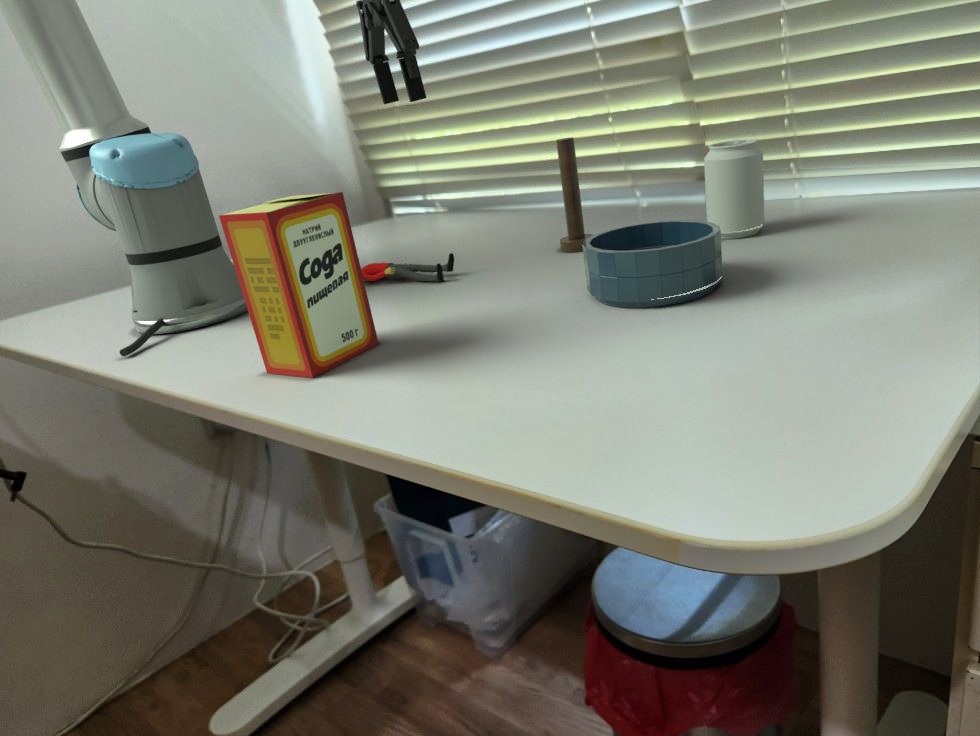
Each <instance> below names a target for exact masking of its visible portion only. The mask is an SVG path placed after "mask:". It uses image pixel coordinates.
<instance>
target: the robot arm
mask: <svg viewBox="0 0 980 736" xmlns="http://www.w3.org/2000/svg"><path fill="white" fill-rule="evenodd" d="M355 3H356V8H357V12H358V16H359V24H360V29H361V36H362V42H363V49H364V55H365V56H364V57H365V60H366V62H369V63H370V64H371V65H372V69H373V71H374V75H375V79H376V82H377V85H378V86H377V87H378V90H379V92H380V96H381V100H382V103H383V105H388V104H392V103H396V102H399V101H400V98H399V95H398V91H397V88H396V83H395V80H394V77H393V74H392V69H391V66H390V63H389V61H390V58H389V57H388V56H387V54H386V35H385V32H386V34H387V35H388V38H389V39H390V41H391V42H392V44H393V46H394V49H396V55H395V58H396V59H397V60H398V63H399V66H400V70H401V75H402V78H403V81H404V85H405V90H406V92H407V97H408V100H409V103H414V102H418V101H421V100H424V99H427V98H428V97H427V94H426V91H425V86H424V83H423V79H422V75H421V71H420V67H419V62H418V60H417V56H416V55H417V51H418V50H420V44H419V41H418V39H417V36H416V34H415V31H414V29H413V27H412V25H411V23H410V21H409V18H408V16H407V14H406V12H405V9H404V7H403V5H402V3H401V0H356V2H355ZM0 13H1V15H2V17H3V19H4V20H5V23H6V24H7V26H8V28H9V30H10V32H11V34H12V36H13V38H14V40H15V42H16V44H17V45H18V47H19V49H20V51H21V54H22V55H23V56H24V59H25V61H26V63H27V64H28V67H29V68H30V70H31V72H32V74H33V76H34V79H35V80H36V82H37V84H38V86H39V88H40V90H41V91H42V93H43V96H44V97H45V99H46V101H47V103H48V106H49V107H50V109H51V110H52V112H53V115H54V116H55V118H56V120H57V122H58V124H59V126H60V128H61V130H62V132H63V139H62V140H61V143H60V145H59V149H58V150H59V152H60V154H61V156H62V158H63V160H64V162H65V164H66V165H67V167H68V170H69V171H70V173H71V175H72V177H73V179H74V182H75V185H76V192H77V194H78V199H79V202H80V204H81V205H82V207H83V208H84V210H85V211H86V212H87V214H88V215H89V216H90V217H91V218H92V219H93V220H95V221H96V222H97V223H98V224H100V225H102V226H103V227H104V228H106V229H108V230H110V231H113V232H116V234H117V236H118V238H119V242H120V244H121V248H122V250H123V253H124V255H125V257H126V261H127V264H128V267H129V269H130V275H131V276H130V277H131V278H130V280H131V281H130V282H131V283H130V285H131V287H130V289H131V305H132V308H131V319H132V322H133V324H134V328H135V329H136V331H137V332H138V333H140V336H139V337H138V338H136V340H134V341H133V342H132V343H131V344H129V345H128V346H125V347H123V348H121V349H120V350H119V355H120V356H122V357H127V356H129V355H131V354H132V353H134V352H136V351H137V350H138V349H140V348H142V347H143V345H144V344H146V343H147V341H148V340H150V339H151V337H152V336H153V335H162V334H170V333H171V334H172V333H178V332H183V331H188V330H193V329H194V330H195V329H198V328H202V327H206V326H210V325H213V324H217V323H219V322H222V321H225V320H229V319H231V318H234V317H236V316H238V315H241V314H243V313H245V312H248V309H247V306H246V303H245V300H244V296H243V293H242V290H241V287H240V283H239V280H238V277H237V274H236V270H235V267H234V264H233V261H232V259H230V257H229V256H228V255H227V253H226V251H225V248H224V246H223V242H222V240H221V236H220V233H219V228H218V226H217V223H216V220H215V216H214V213H213V210H212V205H211V203H210V200H209V197H208V193H207V189H206V187H205V183H204V180H203V177H202V173H201V170H200V163H199V160H198V157H197V156H196V154H195V152H194V150H193V147H192V145H191V143H190V141H189V139H188V138H186V137H185V136H184V135H182V134H179V133H173V132H161V133H158V132H157V133H156V132H152V131H151V129H150V126H149V124H148V123H146V122H145V121H142V120H140V119H138V118H135V117H134V116H133V115H132V114H130V112H129V110H128V107H127V105H126V103H125V101H124V99H123V97H122V95H121V92H120V90H119V88H118V86H117V84H116V82H115V80H114V77H113V76H112V74H111V72H110V70H109V68H108V66H107V63H106V61H105V59H104V57H103V54H102V52H101V50H100V49H99V46H98V44H97V42H96V40H95V38H94V36H93V33H92V31H91V30H90V27H89V26H88V23H87V21H86V19H85V17H84V14H83V13H82V10H81V9H80V6H79V4H78V1H77V0H0Z"/></svg>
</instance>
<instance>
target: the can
mask: <svg viewBox="0 0 980 736" xmlns="http://www.w3.org/2000/svg"><path fill="white" fill-rule="evenodd" d="M758 142H759V140H758V139H754V138H745V139H733V140H725V141H720V142H715V143H712V144H709V145H708V146H707V148H708V149H709V151H708V152H707V153H706V155H705V156H704V157H703V167H704V187H705V188H704V189H705V206H706V208H705V209H706V222H712V223H714V224H716V225H718V226H720V231H721V232H732V233H721V240H722V239H725V240H732V239H743V238H748V237H752V236H755V235H757V234H759V231H761V229H762V228H763V227H764V226H765V185H764V184H765V183H764V177H765V176H764V151H763V150H762V149H761V148H760V147H759V146H758V145H757V144H758ZM763 223H764V225H763V226H762V227H760V228H756V229H753V230H748V231H742V232H733V231H741V230H746V229H750V228H754V227H757V226H760V225H761V224H763Z"/></svg>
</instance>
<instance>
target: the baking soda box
mask: <svg viewBox="0 0 980 736" xmlns="http://www.w3.org/2000/svg"><path fill="white" fill-rule="evenodd" d="M218 218H219V221H220V224H221V228H222V231H223V233H224V238H225V240H226V244H227V247H228V251H229V254H230V257H231V261H232V263H233V264H234V267H235V270H236V274H237V277H238V280H239V283H240V287H241V290H242V293H243V296H244V300H245V303H246V306H247V309H248V310H247V312H248V315H249V319H250V322H251V326H252V329H253V332H254V335H255V338H256V342H257V345H258V348H259V351H260V354H261V355H260V356H261V358H262V361H263V365H264V368H265V372H266V374H269V375H271V374H272V375H280V376H281V375H282V376H289V377H299V378H307V379H308V378H309V379H314V378H316V377H318V376H320V375H322V374H325V372H327V371H330V370H332V369H333V368H335V367H337V366H339V365H341V364H343V363H344V362H347V361H348V360H350V359H352V358H354V357H356V356H358V355H360V354H361V353H363V352H365V351H368V350H369V349H371V348H373V347H375V346H377V345H379V344H380V343H379V339H378V335H377V330H376V326H375V322H374V318H373V315H372V314H373V313H372V310H371V306H370V301H369V297H368V293H367V288H366V285H365V280H363V276H362V271H361V269H362V267H361V264H360V259H359V255H358V251H357V246H356V242H355V238H354V234H353V230H352V226H351V222H350V216H349V213H348V209H347V205H346V201H345V197H344V192H343V191H336V192H323V193H308V194H295V195H291V196H290V195H289V196H286V197H282V198H277V199H272V200H267V201H266V202H264V201H263V202H262V203H261V204H257V205H254V206H250V207H247V208H243V209H239V210H235V211H234V210H233V211H230V212H227V213H224V214H223V213H222V214H219V215H218Z"/></svg>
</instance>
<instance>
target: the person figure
mask: <svg viewBox="0 0 980 736" xmlns="http://www.w3.org/2000/svg"><path fill="white" fill-rule="evenodd" d="M447 259H448V260H447V263H446V264H441V263H436V265H435V264H417V263H416V264H415V263H408V262H406V263H404V264H403V263H393V262H371V263H368V264H365V265H364V266H363V267H361V271H362V276H363V280H364V281H370V282H377V281H379V280H380V279H382V278H388V279H396V278H399V279H400V278H402V279H411V280H414V281H420V282H437V283H442V282H444V280H445V277H444V274H443V272H444V273H451V272H453V271H454V265H455V255H454V253H453V252H450V253H449V254H448V258H447ZM429 273H432V274H429ZM433 273H435V274H433Z"/></svg>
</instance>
